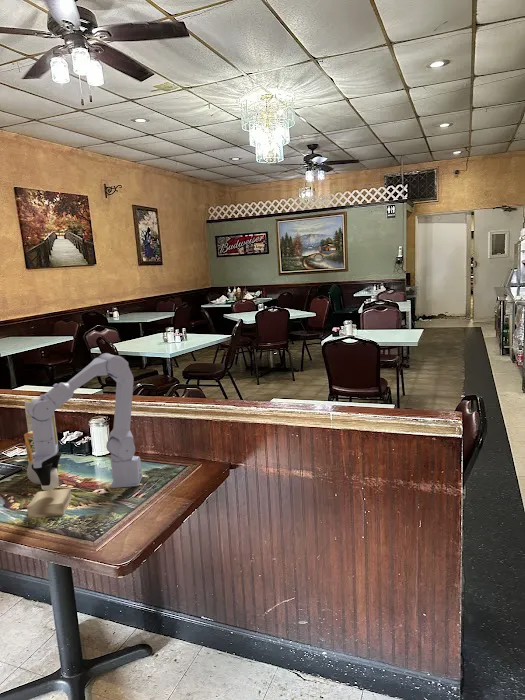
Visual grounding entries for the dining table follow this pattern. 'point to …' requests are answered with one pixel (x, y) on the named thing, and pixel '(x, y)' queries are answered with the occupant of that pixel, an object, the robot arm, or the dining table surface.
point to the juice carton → (29, 422)
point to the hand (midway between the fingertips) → (49, 481)
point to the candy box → (29, 445)
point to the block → (49, 503)
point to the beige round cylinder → (52, 480)
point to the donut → (33, 474)
